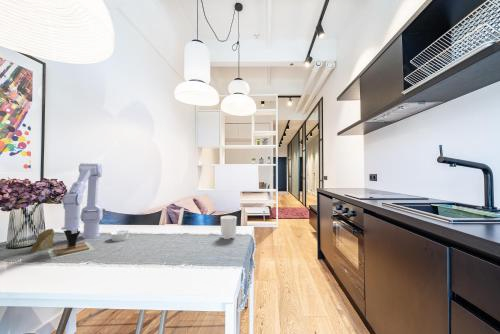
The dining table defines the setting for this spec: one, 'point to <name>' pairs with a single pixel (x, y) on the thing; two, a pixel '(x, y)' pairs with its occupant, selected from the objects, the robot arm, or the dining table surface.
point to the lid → (70, 249)
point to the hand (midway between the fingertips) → (71, 245)
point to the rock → (43, 241)
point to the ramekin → (120, 235)
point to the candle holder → (228, 226)
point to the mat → (52, 254)
